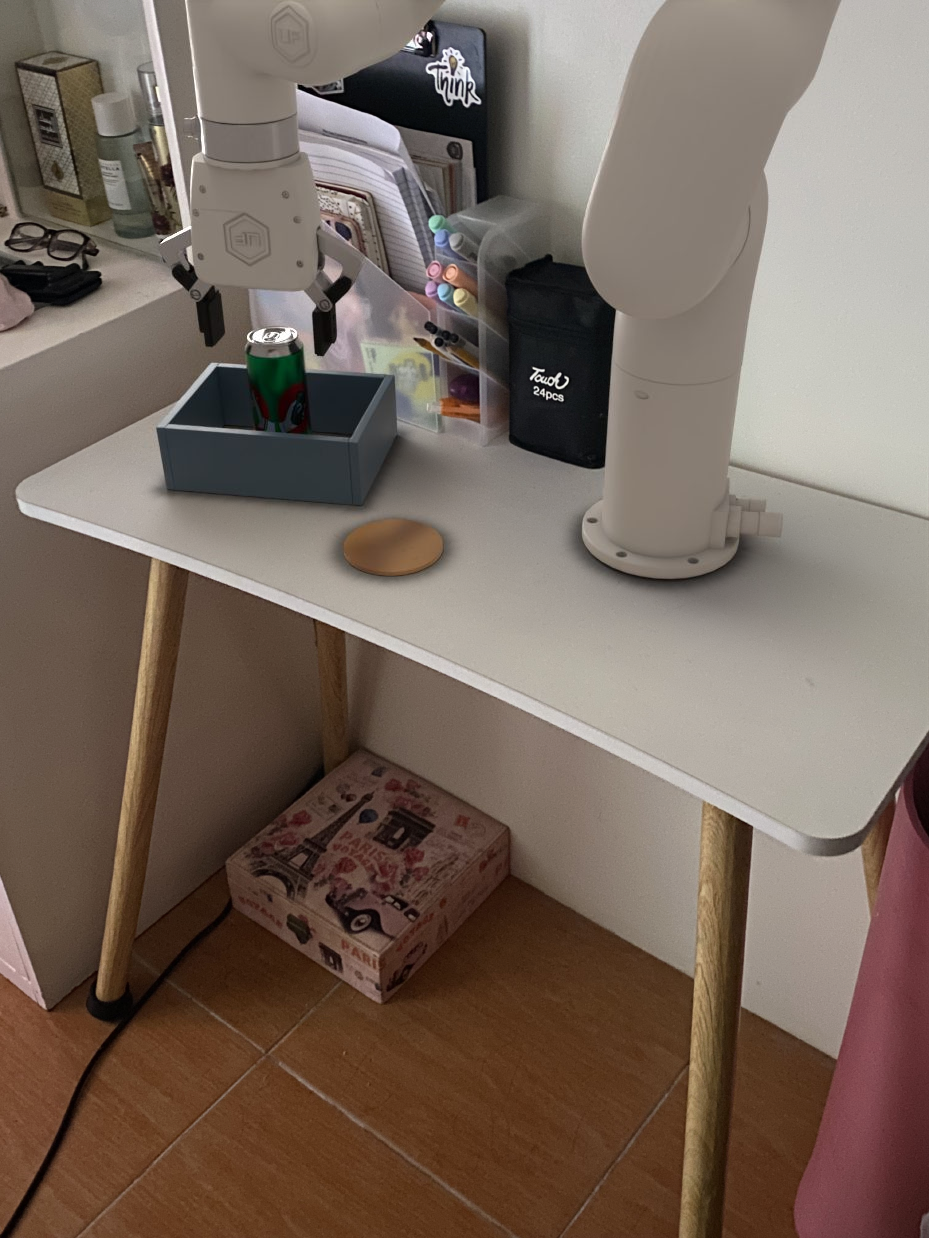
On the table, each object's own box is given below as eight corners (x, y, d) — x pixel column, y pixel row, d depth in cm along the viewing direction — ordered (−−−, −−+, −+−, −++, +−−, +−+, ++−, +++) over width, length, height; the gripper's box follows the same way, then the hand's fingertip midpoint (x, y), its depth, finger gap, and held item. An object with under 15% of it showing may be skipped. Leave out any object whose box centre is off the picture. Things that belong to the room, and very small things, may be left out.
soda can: (319, 448, 113) (308, 324, 106) (308, 475, 109) (295, 347, 102) (265, 446, 113) (250, 323, 106) (252, 473, 109) (236, 346, 102)
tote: (397, 433, 115) (394, 374, 111) (361, 506, 104) (357, 442, 101) (219, 420, 118) (211, 362, 114) (166, 489, 107) (155, 427, 103)
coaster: (451, 527, 101) (451, 523, 101) (431, 580, 95) (431, 576, 94) (357, 519, 102) (357, 515, 102) (332, 570, 96) (331, 566, 96)
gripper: (125, 144, 93) (157, 355, 103) (346, 157, 90) (356, 372, 100) (162, 119, 99) (189, 321, 109) (370, 131, 96) (378, 336, 106)
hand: (269, 345), depth 105 cm, fingers open, 9 cm apart
